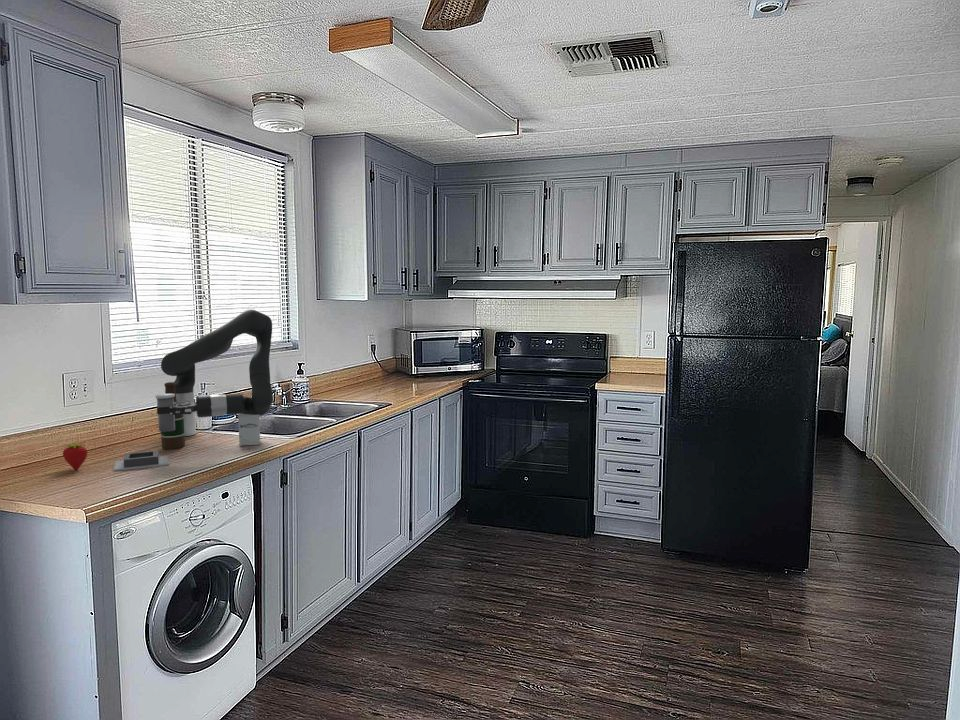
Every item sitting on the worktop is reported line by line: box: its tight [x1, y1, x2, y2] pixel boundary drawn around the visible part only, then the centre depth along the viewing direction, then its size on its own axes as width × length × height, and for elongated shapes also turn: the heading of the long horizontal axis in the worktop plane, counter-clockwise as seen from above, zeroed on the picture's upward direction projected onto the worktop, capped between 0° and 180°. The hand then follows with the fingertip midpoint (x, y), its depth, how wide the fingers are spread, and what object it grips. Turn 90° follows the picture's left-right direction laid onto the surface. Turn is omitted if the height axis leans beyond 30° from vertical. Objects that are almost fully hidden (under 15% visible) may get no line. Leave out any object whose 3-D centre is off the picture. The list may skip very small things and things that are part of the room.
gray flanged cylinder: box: [155, 393, 175, 433], centre depth 226 cm, size 6×6×12 cm
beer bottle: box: [160, 381, 186, 451], centre depth 248 cm, size 8×8×24 cm
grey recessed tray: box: [112, 450, 170, 472], centre depth 224 cm, size 12×16×3 cm
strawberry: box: [62, 438, 88, 470], centre depth 218 cm, size 6×8×10 cm
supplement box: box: [237, 413, 261, 447], centre depth 253 cm, size 7×7×13 cm
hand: (157, 409), depth 225 cm, fingers closed on gray flanged cylinder, 5 cm apart
